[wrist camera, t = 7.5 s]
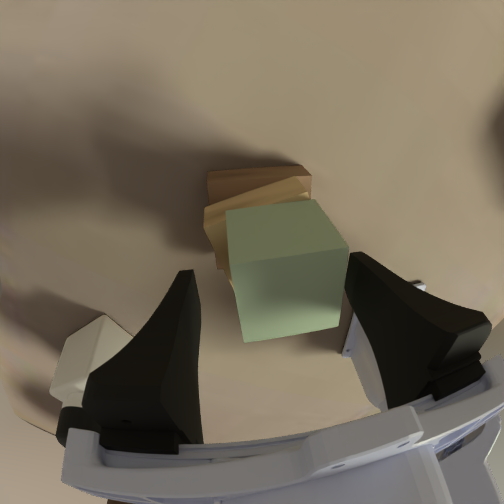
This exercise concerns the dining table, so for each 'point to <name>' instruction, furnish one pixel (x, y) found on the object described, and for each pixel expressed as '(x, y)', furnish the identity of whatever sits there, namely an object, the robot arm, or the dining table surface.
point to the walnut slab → (250, 182)
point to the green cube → (285, 269)
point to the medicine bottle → (83, 371)
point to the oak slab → (258, 197)
